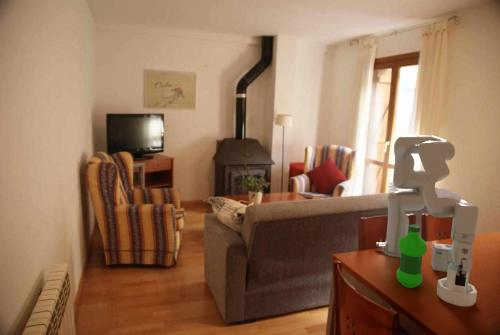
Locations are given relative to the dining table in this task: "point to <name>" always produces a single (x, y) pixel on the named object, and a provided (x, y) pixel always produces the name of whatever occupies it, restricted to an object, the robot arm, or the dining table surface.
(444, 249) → the light bulb box
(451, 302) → the white octagonal bowl
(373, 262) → the dining table surface
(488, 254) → the dining table surface
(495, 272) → the dining table surface
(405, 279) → the plastic bottle
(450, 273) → the can
